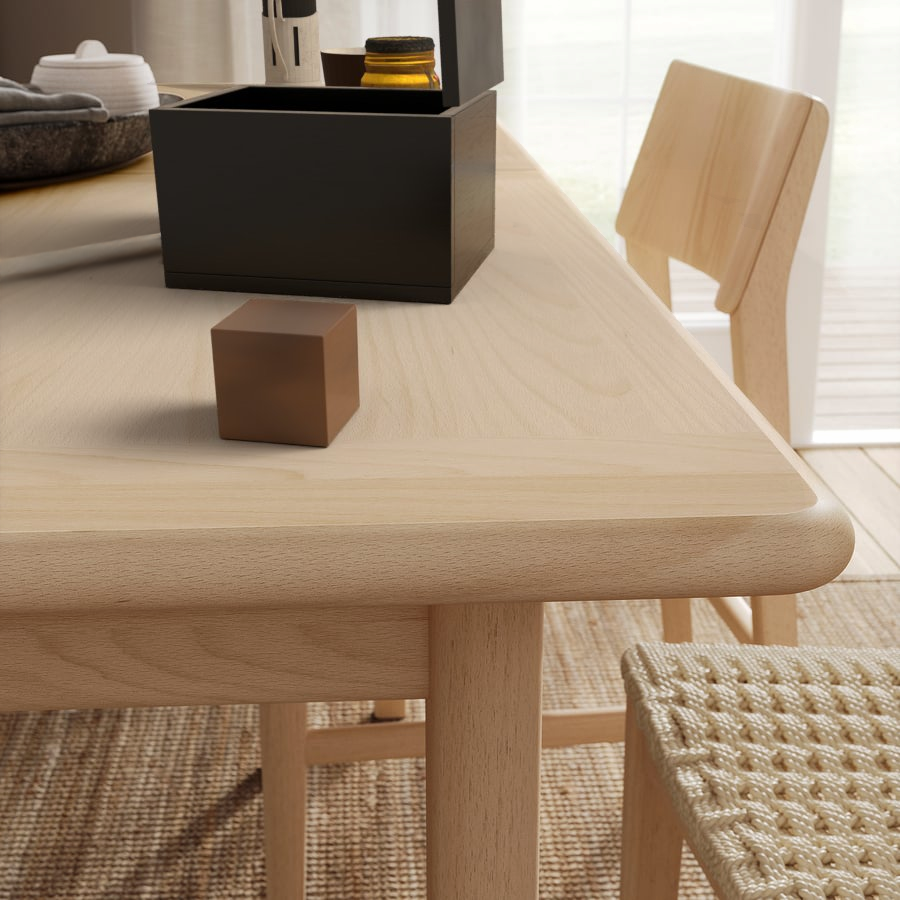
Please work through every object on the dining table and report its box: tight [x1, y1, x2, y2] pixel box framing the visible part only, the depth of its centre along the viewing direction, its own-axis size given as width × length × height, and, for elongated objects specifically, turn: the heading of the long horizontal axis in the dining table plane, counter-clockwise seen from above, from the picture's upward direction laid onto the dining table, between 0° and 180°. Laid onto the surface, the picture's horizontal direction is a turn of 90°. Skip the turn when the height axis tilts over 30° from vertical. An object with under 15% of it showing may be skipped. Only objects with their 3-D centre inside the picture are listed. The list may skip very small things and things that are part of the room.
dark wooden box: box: [148, 84, 498, 305], centre depth 70 cm, size 17×14×10 cm
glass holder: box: [261, 0, 324, 86], centre depth 162 cm, size 9×14×15 cm, turn 172°
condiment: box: [361, 35, 442, 89], centre depth 90 cm, size 7×8×12 cm
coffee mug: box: [319, 46, 367, 87], centre depth 102 cm, size 12×9×10 cm
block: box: [210, 297, 361, 448], centre depth 47 cm, size 4×4×4 cm
